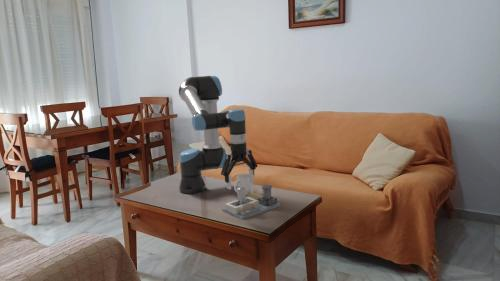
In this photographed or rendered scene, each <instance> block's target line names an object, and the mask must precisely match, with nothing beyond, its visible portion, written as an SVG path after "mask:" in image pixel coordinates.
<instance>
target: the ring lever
mask: <svg viewBox="0 0 500 281" xmlns="http://www.w3.org/2000/svg"><path fill="white" fill-rule="evenodd" d="M246 197H250V198H253V199H256V200H258V201H259V203H260V204H263V205H265V206H269V205H272V204H275V203H278V198H277V197H275V196H272V195H271V199H270V200H264V199H263V194H259V193H257V192H254V191H253V192H251V191H249V192H247V196H246Z"/></svg>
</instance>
